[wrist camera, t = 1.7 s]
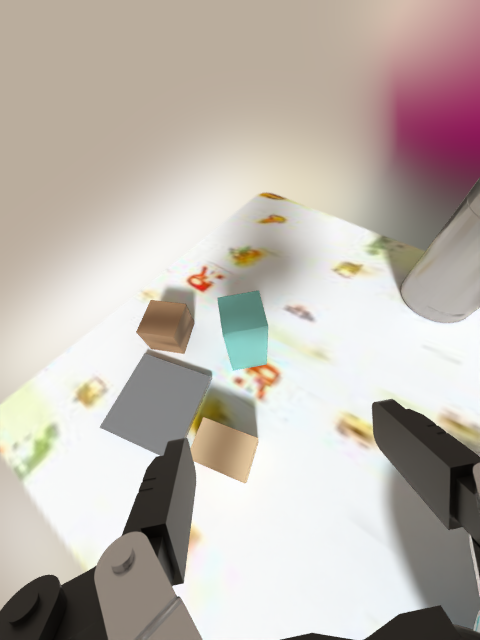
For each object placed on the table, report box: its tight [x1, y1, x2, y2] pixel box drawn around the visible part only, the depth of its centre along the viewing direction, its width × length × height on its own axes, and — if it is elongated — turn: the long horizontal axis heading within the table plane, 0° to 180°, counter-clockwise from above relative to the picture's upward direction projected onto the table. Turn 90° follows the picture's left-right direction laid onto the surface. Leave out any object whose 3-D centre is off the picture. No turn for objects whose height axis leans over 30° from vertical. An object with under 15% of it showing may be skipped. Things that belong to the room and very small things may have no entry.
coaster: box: [100, 354, 212, 456], centre depth 31 cm, size 10×10×1 cm
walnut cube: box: [136, 300, 194, 354], centre depth 34 cm, size 5×5×5 cm
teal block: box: [218, 291, 268, 370], centre depth 30 cm, size 4×4×10 cm
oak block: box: [190, 417, 258, 483], centre depth 26 cm, size 6×4×4 cm, turn 70°
